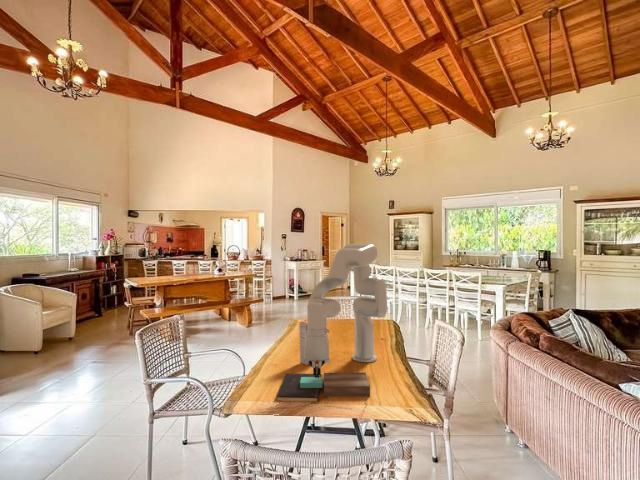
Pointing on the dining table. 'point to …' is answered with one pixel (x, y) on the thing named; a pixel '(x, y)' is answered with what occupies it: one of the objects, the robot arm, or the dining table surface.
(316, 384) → the teal rectangular block
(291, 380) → the hardcover book
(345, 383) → the brown flat block
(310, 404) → the dining table surface
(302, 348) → the cracker box
